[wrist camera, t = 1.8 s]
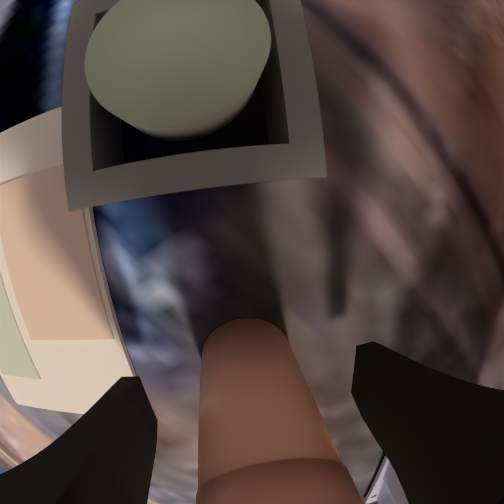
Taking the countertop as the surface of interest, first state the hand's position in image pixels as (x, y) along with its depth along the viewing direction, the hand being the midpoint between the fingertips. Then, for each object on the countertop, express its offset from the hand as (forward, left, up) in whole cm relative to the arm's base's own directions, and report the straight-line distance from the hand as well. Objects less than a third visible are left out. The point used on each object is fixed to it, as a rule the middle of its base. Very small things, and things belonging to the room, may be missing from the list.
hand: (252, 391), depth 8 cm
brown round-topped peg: (0, 0, -2) cm, 2 cm away
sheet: (+3, +8, -2) cm, 9 cm away
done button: (+9, +1, 0) cm, 9 cm away
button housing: (+9, +1, -2) cm, 9 cm away
